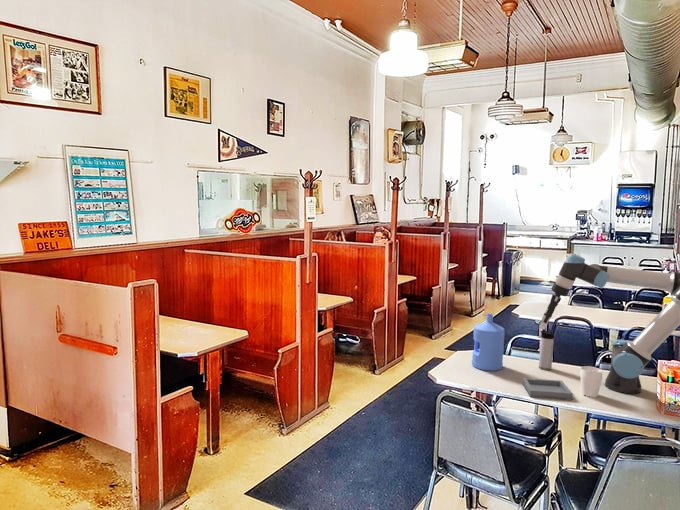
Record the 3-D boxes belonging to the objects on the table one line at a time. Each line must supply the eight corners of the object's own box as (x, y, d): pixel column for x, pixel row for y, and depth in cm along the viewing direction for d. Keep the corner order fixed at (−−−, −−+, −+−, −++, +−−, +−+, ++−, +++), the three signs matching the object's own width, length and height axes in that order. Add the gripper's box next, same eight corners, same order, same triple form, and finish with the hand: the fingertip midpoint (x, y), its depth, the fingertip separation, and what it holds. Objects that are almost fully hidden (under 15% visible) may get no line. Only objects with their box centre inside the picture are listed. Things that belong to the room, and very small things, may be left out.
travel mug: (536, 366, 268) (538, 329, 266) (548, 366, 268) (551, 329, 266) (540, 370, 262) (543, 332, 260) (553, 370, 262) (556, 333, 260)
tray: (561, 386, 239) (561, 380, 239) (572, 399, 224) (572, 393, 223) (522, 383, 242) (522, 377, 241) (530, 396, 226) (530, 390, 226)
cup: (595, 391, 234) (598, 366, 233) (603, 399, 225) (606, 373, 224) (575, 390, 235) (577, 365, 234) (583, 398, 226) (585, 372, 225)
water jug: (505, 365, 269) (509, 313, 265) (497, 373, 255) (501, 319, 252) (476, 359, 277) (479, 309, 274) (467, 367, 264) (470, 315, 260)
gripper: (555, 278, 248) (537, 316, 253) (553, 286, 225) (532, 327, 231) (571, 284, 245) (551, 322, 251) (569, 293, 223) (548, 335, 228)
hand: (542, 325), depth 241 cm, fingers open, 13 cm apart
